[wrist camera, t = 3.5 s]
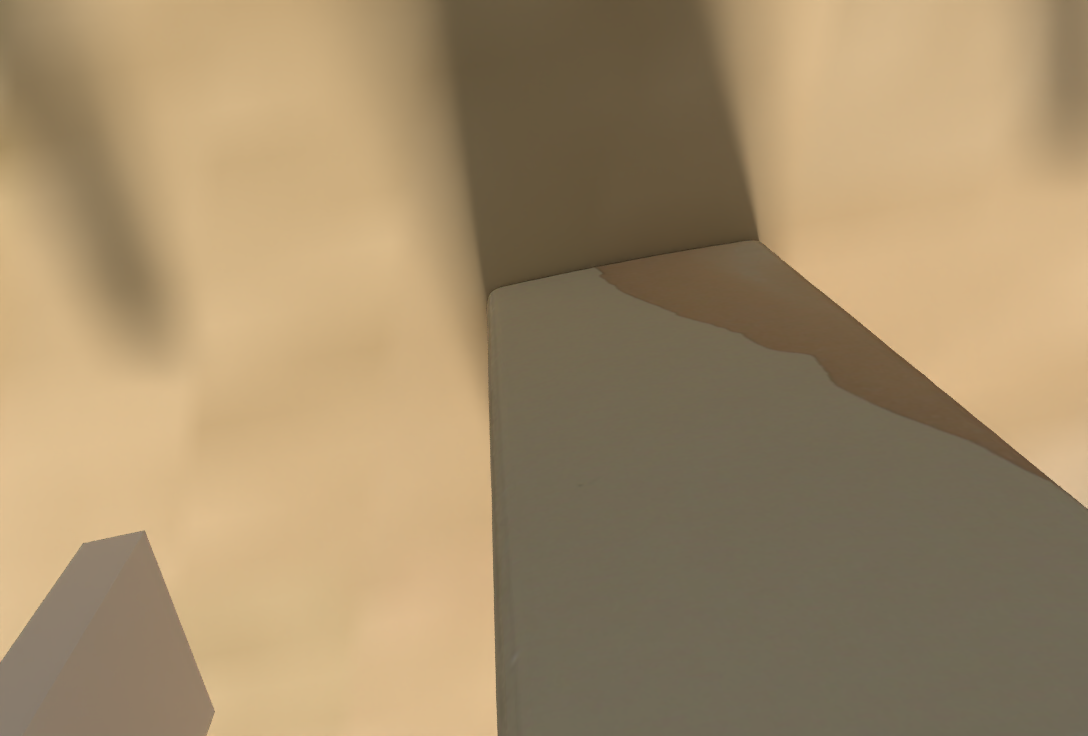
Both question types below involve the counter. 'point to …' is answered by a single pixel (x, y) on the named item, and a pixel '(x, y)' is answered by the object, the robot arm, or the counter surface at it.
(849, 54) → the counter surface
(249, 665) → the counter surface
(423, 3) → the counter surface
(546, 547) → the box
